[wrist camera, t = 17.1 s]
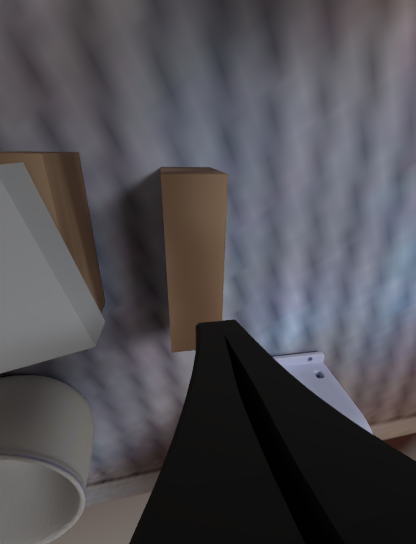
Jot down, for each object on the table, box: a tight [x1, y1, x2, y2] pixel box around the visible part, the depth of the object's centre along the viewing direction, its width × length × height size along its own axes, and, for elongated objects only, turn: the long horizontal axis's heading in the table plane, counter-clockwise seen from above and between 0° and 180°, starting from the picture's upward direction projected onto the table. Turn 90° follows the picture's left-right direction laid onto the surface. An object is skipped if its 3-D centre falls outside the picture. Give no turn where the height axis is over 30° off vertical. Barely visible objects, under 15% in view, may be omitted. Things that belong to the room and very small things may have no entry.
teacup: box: [0, 375, 94, 544], centre depth 19 cm, size 14×11×8 cm
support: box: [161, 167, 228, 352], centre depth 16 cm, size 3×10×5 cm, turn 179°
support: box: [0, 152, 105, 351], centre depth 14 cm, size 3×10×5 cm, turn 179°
